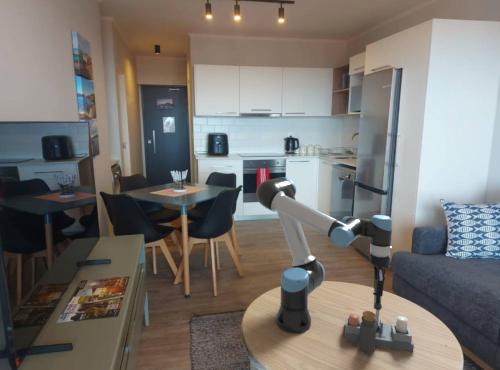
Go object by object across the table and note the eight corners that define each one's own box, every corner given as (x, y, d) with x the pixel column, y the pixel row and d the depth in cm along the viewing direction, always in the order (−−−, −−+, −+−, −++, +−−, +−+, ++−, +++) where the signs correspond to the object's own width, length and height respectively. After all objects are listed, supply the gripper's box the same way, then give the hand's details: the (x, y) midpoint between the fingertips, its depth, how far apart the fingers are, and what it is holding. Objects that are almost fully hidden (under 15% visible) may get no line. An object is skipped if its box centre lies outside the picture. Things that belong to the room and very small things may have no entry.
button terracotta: (348, 329, 135) (349, 318, 134) (348, 324, 139) (349, 313, 138) (358, 331, 134) (359, 319, 133) (358, 325, 138) (359, 314, 137)
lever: (372, 330, 136) (374, 304, 133) (371, 326, 138) (373, 300, 136) (380, 331, 135) (382, 305, 132) (379, 327, 138) (381, 301, 135)
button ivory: (396, 332, 130) (397, 321, 129) (395, 326, 134) (396, 315, 133) (407, 334, 129) (408, 322, 128) (405, 328, 133) (406, 317, 132)
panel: (345, 340, 134) (346, 324, 133) (344, 324, 145) (345, 308, 144) (413, 351, 128) (414, 334, 126) (407, 333, 139) (408, 317, 138)
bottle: (377, 353, 127) (380, 317, 124) (364, 355, 125) (367, 319, 123) (368, 343, 132) (370, 308, 130) (355, 346, 131) (357, 311, 128)
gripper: (392, 260, 126) (389, 318, 130) (387, 249, 138) (384, 302, 142) (371, 259, 128) (369, 315, 132) (368, 248, 140) (366, 300, 144)
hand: (377, 308), depth 137 cm, fingers closed
